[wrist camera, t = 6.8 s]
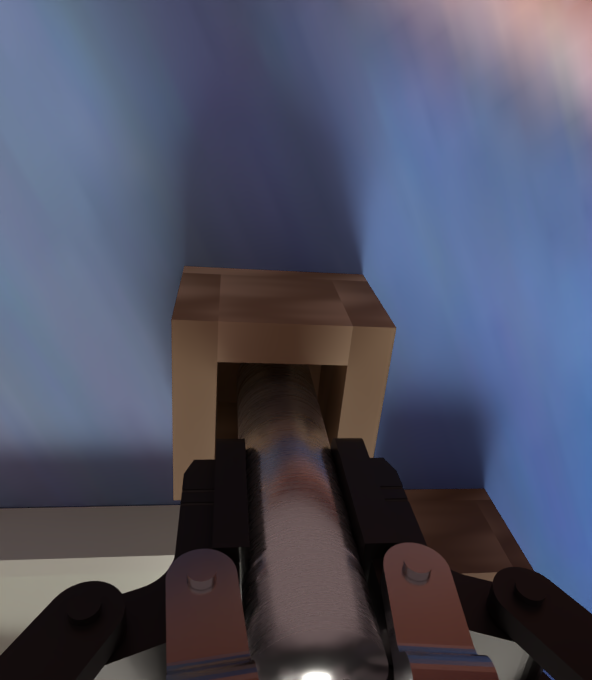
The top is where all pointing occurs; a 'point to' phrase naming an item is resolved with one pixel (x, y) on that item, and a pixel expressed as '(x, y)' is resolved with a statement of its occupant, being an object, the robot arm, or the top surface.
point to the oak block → (274, 351)
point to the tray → (78, 554)
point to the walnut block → (466, 531)
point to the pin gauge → (300, 539)
